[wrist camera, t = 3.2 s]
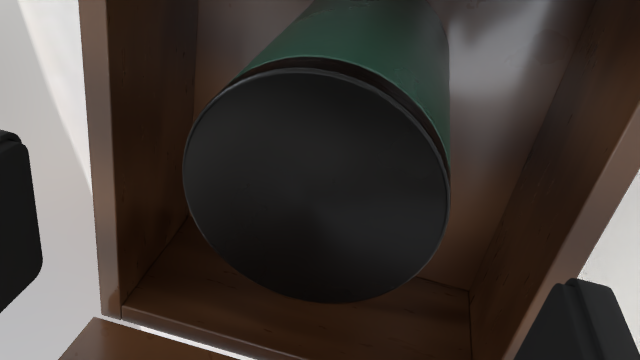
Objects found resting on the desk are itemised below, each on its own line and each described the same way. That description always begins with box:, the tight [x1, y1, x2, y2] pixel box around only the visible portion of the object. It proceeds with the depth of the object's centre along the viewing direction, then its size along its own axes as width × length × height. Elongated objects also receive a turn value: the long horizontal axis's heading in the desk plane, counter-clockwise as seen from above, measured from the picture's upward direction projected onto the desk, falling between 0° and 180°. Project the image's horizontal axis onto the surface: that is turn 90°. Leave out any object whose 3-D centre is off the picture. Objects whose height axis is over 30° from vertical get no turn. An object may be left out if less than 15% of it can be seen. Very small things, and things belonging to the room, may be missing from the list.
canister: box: [182, 0, 451, 304], centre depth 15 cm, size 6×6×10 cm
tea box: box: [78, 0, 640, 360], centre depth 17 cm, size 17×15×7 cm
